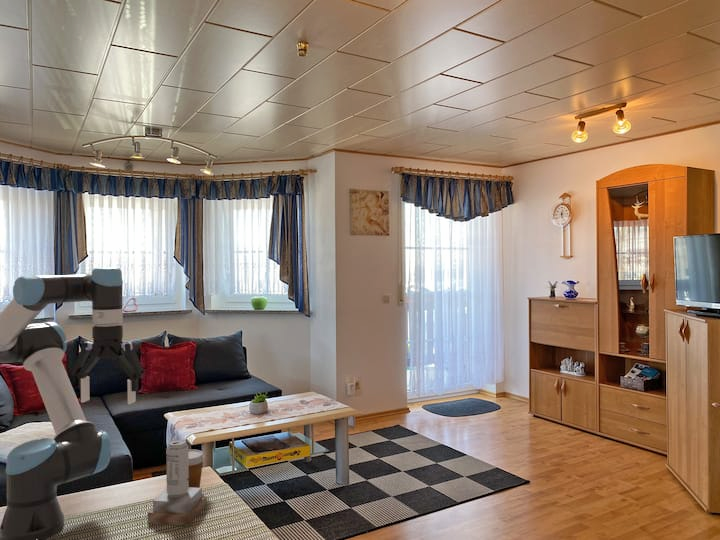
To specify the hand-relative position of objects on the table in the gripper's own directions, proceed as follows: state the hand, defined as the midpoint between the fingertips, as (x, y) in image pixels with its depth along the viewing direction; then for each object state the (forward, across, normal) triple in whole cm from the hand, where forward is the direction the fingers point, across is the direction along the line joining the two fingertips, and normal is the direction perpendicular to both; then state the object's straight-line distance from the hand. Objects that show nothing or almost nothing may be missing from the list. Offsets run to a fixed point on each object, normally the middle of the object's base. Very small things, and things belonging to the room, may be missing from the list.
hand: (108, 402), depth 152 cm
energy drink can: (+29, +15, +10) cm, 34 cm away
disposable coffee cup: (+35, +11, +25) cm, 45 cm away
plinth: (+35, +15, +10) cm, 39 cm away
